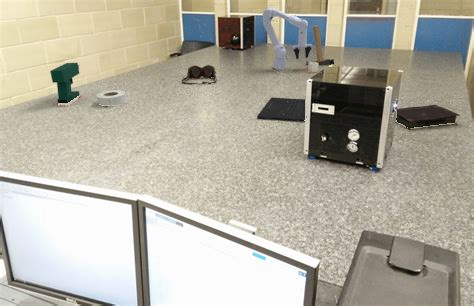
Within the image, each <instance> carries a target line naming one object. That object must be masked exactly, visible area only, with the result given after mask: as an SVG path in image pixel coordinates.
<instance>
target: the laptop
mask: <svg viewBox="0 0 474 306" xmlns="http://www.w3.org/2000/svg"><path fill="white" fill-rule="evenodd" d="M305 99H306V98H304V99H303V98H286V97H270V98H269V100H268V101H267V103H266V104H265V105H264V106H263V107H262V109H261V110H260V112H259V113H258V114H257V116H256V118H257V119H260V120H271V121H272V120H275V121H286V120H287V121H290V122H297V121H303V122H302V123H305V121H304V120H305Z"/></svg>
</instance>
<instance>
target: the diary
mask: <svg viewBox="0 0 474 306" xmlns="http://www.w3.org/2000/svg"><path fill="white" fill-rule="evenodd" d="M396 109H397V118H396V120H397V122H398V123H401V124H403V125H405V126H406V128H405V129H407V127H408V129H407V130H411V129H410V128H414V127H423V126H430V125H439V124H447V123H456V120H457V117H460V116H461V115H460V114H459V113H457V112H454V111H452V110H450V109H448V108H445V107H443V106H440V105H437V104H430V105H423V106H422V105H420V106H411V107H410V106H409V107H402V108H396ZM398 123H397V124H398Z"/></svg>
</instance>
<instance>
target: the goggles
mask: <svg viewBox="0 0 474 306" xmlns="http://www.w3.org/2000/svg"><path fill="white" fill-rule="evenodd" d="M186 73H187V74H186V77H184V76H183V77H182V79H181V83H182V84H183V85H192V84H204V85H205V83H208V84H207V85H212V84H211V83H214V84H217V81H218V80H217V79H216V78H217V71H216V67H215V66H213V65H210V64H207V65H204V66H203V67H201V66H198V65H191V66H189V67H188V69H187V72H186ZM211 77H214V78H213V80H214V81H212V82H210V81H209V82H208V81H201V82H200V83H197V82H185V80H190V79H192V78H197V79H200V78H204V79H212V78H211Z"/></svg>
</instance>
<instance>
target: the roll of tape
mask: <svg viewBox="0 0 474 306" xmlns="http://www.w3.org/2000/svg"><path fill="white" fill-rule="evenodd" d="M96 100H97V104H98V103H99V104H101V105H118V104H122V103H124V102H126V103H127V96H126V92H125V90H119V89H118V90H117V89H116V90H115V89H114V90H107V91H103V92H99V93H98V94H96Z"/></svg>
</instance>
